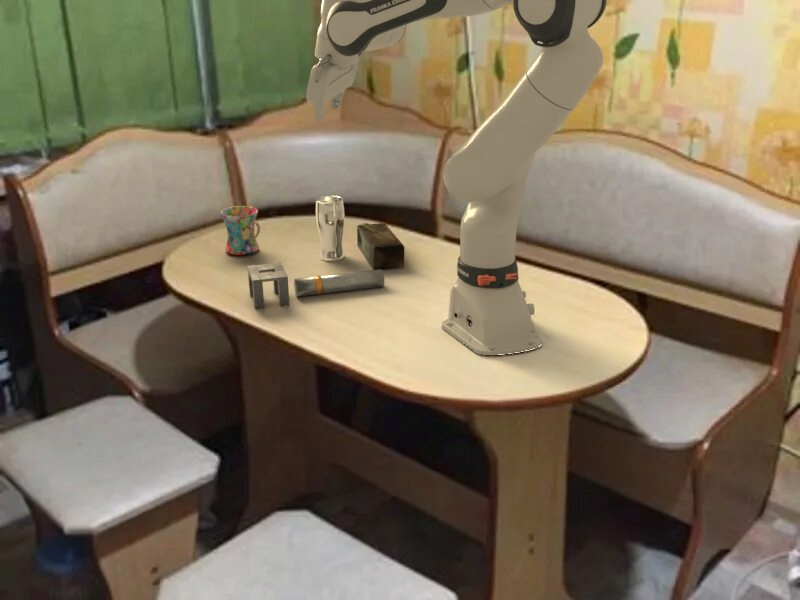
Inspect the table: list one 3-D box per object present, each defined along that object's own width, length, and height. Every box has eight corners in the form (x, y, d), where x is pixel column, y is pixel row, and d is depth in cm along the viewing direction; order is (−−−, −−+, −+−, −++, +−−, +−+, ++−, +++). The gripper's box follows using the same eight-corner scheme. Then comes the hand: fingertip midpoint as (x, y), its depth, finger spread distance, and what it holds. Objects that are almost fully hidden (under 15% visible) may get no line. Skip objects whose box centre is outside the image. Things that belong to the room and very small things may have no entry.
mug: (216, 252, 225) (212, 212, 221) (245, 242, 231) (241, 203, 227) (246, 263, 218) (243, 221, 213) (275, 253, 224) (272, 212, 220)
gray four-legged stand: (289, 305, 193) (287, 276, 191) (255, 309, 192) (252, 280, 189) (282, 290, 201) (280, 262, 199) (249, 293, 199) (247, 266, 197)
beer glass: (347, 252, 224) (345, 195, 218) (343, 262, 217) (341, 203, 211) (320, 252, 224) (317, 194, 218) (315, 261, 218) (312, 203, 212)
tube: (379, 283, 205) (379, 266, 203) (384, 289, 201) (384, 272, 200) (294, 292, 200) (293, 275, 198) (297, 299, 196) (296, 282, 195)
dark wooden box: (386, 243, 231) (386, 219, 228) (405, 269, 214) (405, 243, 211) (356, 246, 229) (355, 222, 226) (373, 272, 212) (373, 246, 209)
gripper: (333, 65, 174) (323, 131, 181) (366, 45, 191) (356, 106, 198) (303, 56, 175) (294, 123, 182) (339, 37, 192) (330, 98, 199)
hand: (327, 114), depth 190 cm, fingers open, 8 cm apart
